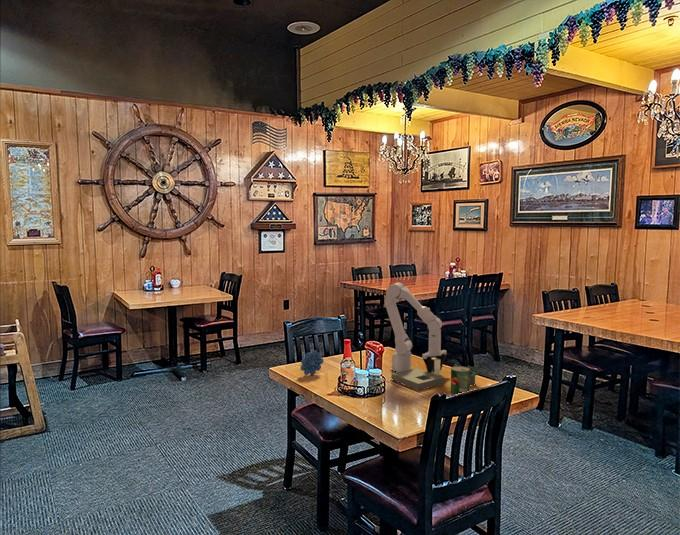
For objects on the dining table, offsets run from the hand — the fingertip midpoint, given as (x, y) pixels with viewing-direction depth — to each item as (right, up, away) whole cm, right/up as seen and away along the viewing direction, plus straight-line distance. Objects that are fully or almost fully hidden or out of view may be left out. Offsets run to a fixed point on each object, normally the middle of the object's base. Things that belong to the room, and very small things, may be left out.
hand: (434, 371), depth 241 cm
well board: (-10, -3, -10) cm, 14 cm away
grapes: (-59, -2, +1) cm, 59 cm away
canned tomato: (+6, -4, -26) cm, 27 cm away
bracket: (+12, -3, -12) cm, 17 cm away
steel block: (0, -2, 0) cm, 2 cm away
